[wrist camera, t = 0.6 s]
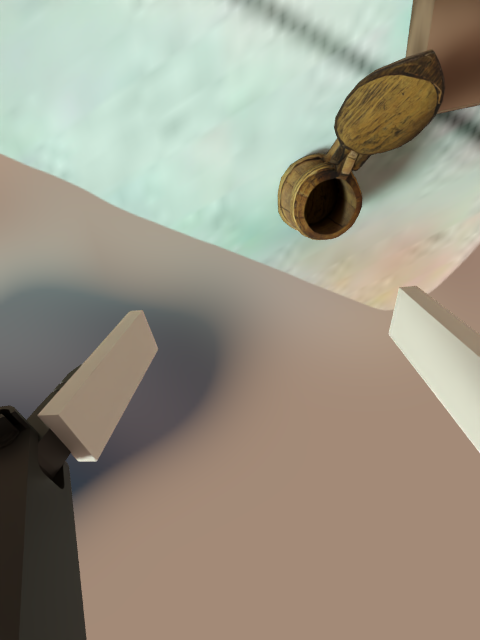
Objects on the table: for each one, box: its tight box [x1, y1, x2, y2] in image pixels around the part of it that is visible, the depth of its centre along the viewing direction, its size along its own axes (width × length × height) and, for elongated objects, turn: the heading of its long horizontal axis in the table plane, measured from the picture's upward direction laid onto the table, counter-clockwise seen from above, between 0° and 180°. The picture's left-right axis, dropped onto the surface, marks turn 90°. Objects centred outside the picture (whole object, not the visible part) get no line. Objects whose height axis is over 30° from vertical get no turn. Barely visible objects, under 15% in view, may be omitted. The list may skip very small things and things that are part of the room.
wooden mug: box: [278, 49, 445, 240], centre depth 24 cm, size 9×14×18 cm, turn 167°
